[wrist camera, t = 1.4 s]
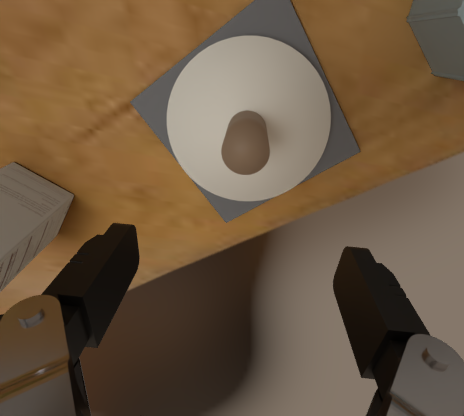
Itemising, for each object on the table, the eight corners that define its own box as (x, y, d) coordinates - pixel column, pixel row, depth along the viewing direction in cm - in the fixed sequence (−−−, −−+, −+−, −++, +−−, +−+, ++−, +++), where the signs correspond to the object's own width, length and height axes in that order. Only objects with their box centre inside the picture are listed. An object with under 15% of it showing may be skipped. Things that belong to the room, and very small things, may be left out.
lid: (166, 28, 23) (134, 23, 17) (347, 43, 23) (382, 44, 17) (172, 189, 31) (152, 226, 25) (308, 202, 31) (322, 242, 24)
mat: (132, 101, 27) (130, 102, 26) (279, -20, 22) (280, -21, 21) (226, 220, 33) (226, 222, 33) (358, 149, 28) (360, 151, 27)
